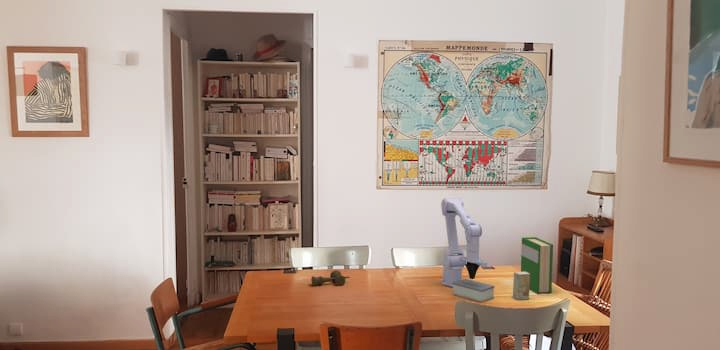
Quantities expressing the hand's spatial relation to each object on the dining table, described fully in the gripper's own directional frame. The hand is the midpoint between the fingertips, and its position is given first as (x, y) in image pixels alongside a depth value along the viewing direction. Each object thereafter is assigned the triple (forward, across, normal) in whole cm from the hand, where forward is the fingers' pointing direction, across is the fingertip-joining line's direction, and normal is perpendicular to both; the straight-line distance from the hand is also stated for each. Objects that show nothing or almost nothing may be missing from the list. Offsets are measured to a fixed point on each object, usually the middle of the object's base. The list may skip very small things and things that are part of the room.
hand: (472, 278), depth 254 cm
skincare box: (+9, -17, -15) cm, 24 cm away
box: (+9, 0, -1) cm, 9 cm away
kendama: (+9, +60, +36) cm, 71 cm away
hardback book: (+9, -14, -34) cm, 38 cm away
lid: (+4, 0, -1) cm, 4 cm away
